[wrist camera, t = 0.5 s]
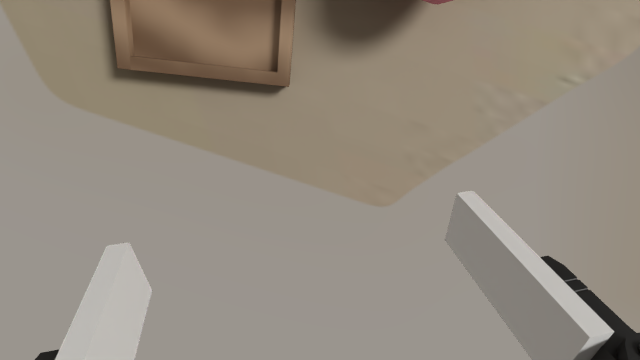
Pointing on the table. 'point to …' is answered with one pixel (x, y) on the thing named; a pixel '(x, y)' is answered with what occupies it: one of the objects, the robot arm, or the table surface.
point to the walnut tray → (206, 38)
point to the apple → (437, 1)
